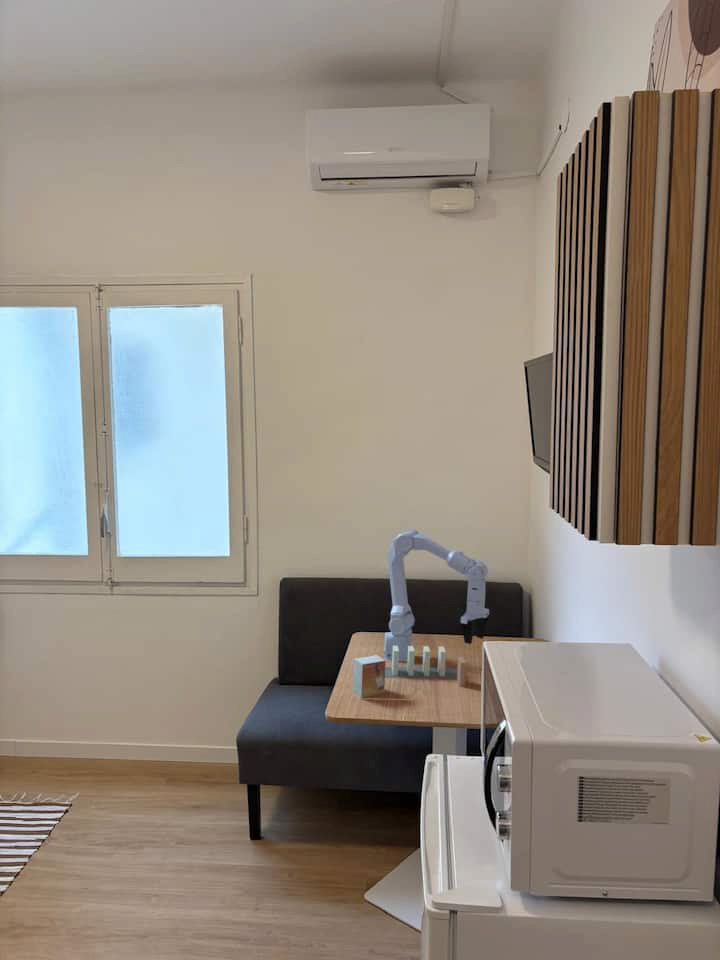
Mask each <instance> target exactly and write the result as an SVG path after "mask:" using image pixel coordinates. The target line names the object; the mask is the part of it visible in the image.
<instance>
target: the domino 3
mask: <svg viewBox="0 0 720 960" xmlns="http://www.w3.org/2000/svg"><path fill="white" fill-rule="evenodd" d="M430 664H431V650H430V647H429V645H425V646H424V645H423V649H422V668H423V673H424V676H429V671H430V668H431V667H430V666H431V665H430Z"/></svg>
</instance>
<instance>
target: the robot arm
mask: <svg viewBox="0 0 720 960" xmlns="http://www.w3.org/2000/svg"><path fill="white" fill-rule="evenodd" d="M411 551H426V552H428V553H431V554H432V555H435V556H436V557H438V558H440V559H442V560H444V561H445V562H446V564H447V566H448V567H450V568H451V569H453V570H455V571H456V572H458V573H460V574H462V575H463V576H465V577H466V579H467V580H468V582H467V597H466V611H465V612H464V614H463V616H460V619H459V620H458V626H459V627H460V629H461V632H462V635H463V641H464V643H465V644H468V645H471V644H472V642H473V637H474V631H475V632H476V633H475V635H476V637H477V638H479V639H484V636H485V635H486V630H487V628H488V626H489V623H490V622H491V621H492V617H491V616H489V615H490V609H489V608H485V605H486V603H485V602H486V577H487V576H488V573H489V572H488V569H489V568H488V567H487V565H486V564H485V563H484V562H483V561H480V560H478V561H477V559H475V558H470V557H468V556H467V555H465V554H464V552H463V551H462V550H459V551H458V550H454V551H450V549H447V548H445V547H444V546H443V545H442V544H440V543H438V542H437V541H434V540H433V539H432V538H430V537H428V536H427V535H425V534H424V533H422V532H419V531H417V530H416V529H408V530H407V531H405V532H403V533H399V534H398V535H397V536H396V537H394V539H393V540H392V544H391V545H390V548H389V550H388V553H387V564H388V570H389V571H388V573H389V582H390V583H389V584H390V591H391V601H392V602H391V603H392V607H391V611H390V621H388V628H389V630H390V632H389V631H388V632H384V648H383V655H384V660H385V662H392V653H393V646H398V649H399V662H402V663H403V662H406V663H408V646H413V645H412V643H413V630H412V627H413V626H414V625H415V622H416V621H415V620H416V619H415V616H414V614H413V611H412V607H411V605H410V604H409V601H408V599H409V598H408V591H407V590H408V589H407V583H406V580H407V579H406V572H405V560H404V559H405V557H406V556H408V554H409V553H410V552H411ZM472 621H474V622H475V623H473V622H472Z"/></svg>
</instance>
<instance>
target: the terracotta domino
mask: <svg viewBox="0 0 720 960" xmlns="http://www.w3.org/2000/svg"><path fill="white" fill-rule="evenodd" d="M457 668H458V670H457V679H456V682H457V683H458V687H466V674H467V673H466V672H467V671H466V670H467V669H466V668H467V662H466V660H465V657H464V656H458V657H457Z"/></svg>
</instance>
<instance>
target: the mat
mask: <svg viewBox="0 0 720 960" xmlns="http://www.w3.org/2000/svg"><path fill="white" fill-rule="evenodd" d="M457 670H458V667H457V668H454V667H453V668H452V667H450V668H448V667H447V668H446V667H445V676H440V675H439V672H438V667H430V671H429V676H424V673H423V667H414V676H409V675H408V671H407V666H405V667H404V666H400V667H399V666H398V675H393V672H392V666H385V679H389V678H390V679H428V680H429V679H434V680H443V679H444V680H457Z"/></svg>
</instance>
